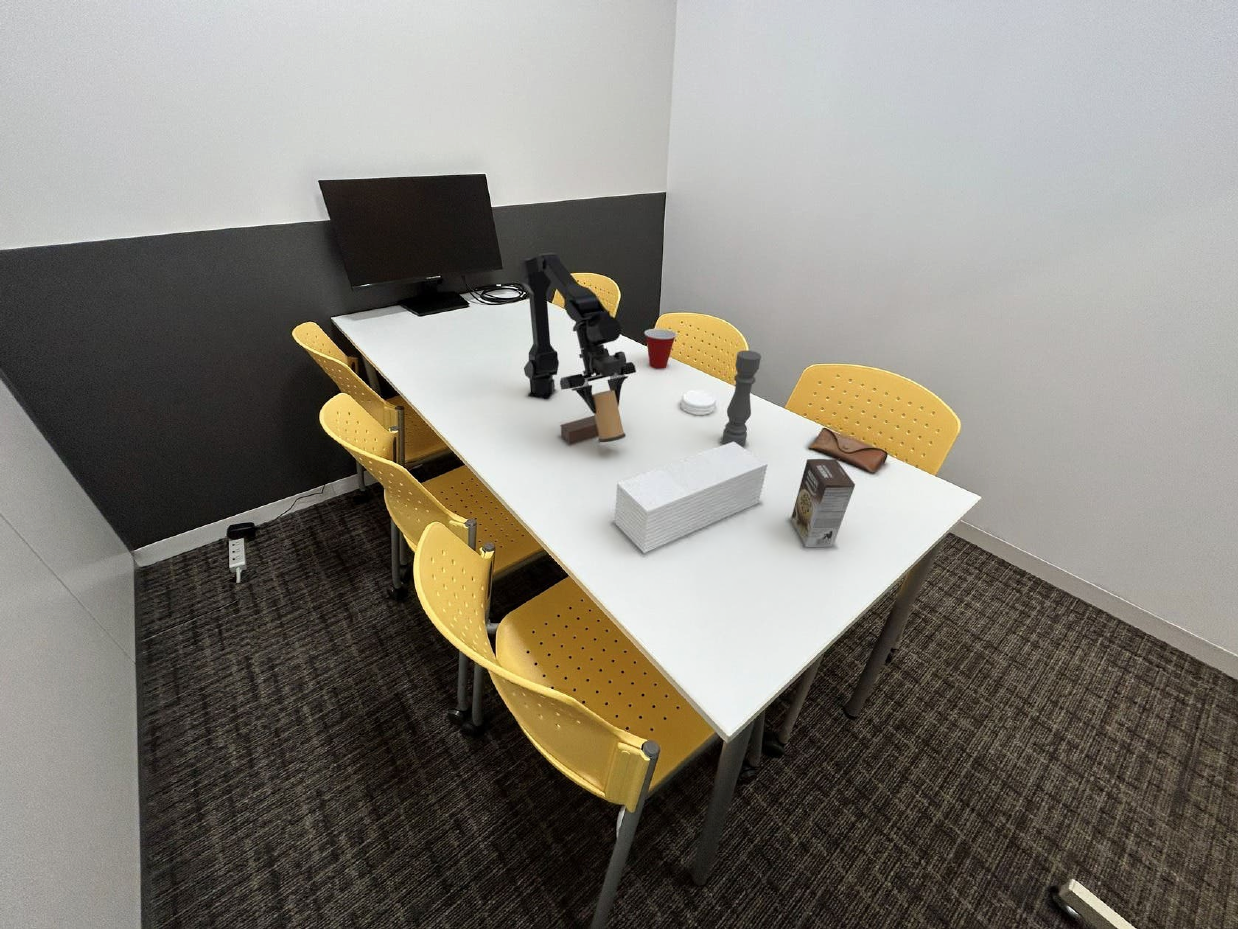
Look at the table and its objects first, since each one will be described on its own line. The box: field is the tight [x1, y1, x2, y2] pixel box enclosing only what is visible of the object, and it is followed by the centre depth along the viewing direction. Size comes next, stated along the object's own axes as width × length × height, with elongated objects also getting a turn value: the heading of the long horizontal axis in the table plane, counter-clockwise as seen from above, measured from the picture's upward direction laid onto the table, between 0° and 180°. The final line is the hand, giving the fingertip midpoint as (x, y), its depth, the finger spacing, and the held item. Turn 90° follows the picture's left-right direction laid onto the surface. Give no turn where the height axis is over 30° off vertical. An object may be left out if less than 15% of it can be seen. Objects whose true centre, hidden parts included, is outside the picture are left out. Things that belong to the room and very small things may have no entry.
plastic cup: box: [643, 328, 678, 370], centre depth 180 cm, size 11×11×12 cm
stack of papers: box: [614, 442, 768, 554], centre depth 114 cm, size 32×11×11 cm, turn 123°
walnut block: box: [560, 415, 599, 445], centre depth 143 cm, size 4×14×4 cm, turn 123°
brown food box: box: [790, 458, 856, 548], centre depth 109 cm, size 9×6×16 cm
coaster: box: [680, 389, 717, 416], centre depth 158 cm, size 10×10×4 cm
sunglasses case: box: [808, 427, 889, 474], centre depth 139 cm, size 18×7×7 cm
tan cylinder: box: [592, 389, 626, 444], centre depth 132 cm, size 13×7×13 cm, turn 33°
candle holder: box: [721, 349, 762, 448], centre depth 136 cm, size 6×6×25 cm
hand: (606, 410), depth 132 cm, fingers closed on tan cylinder, 6 cm apart
